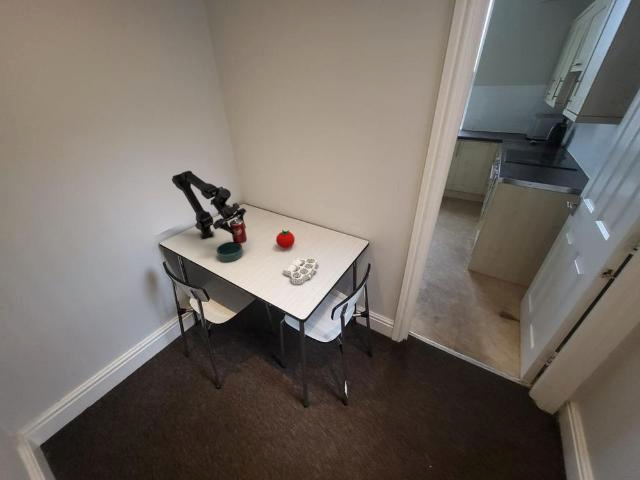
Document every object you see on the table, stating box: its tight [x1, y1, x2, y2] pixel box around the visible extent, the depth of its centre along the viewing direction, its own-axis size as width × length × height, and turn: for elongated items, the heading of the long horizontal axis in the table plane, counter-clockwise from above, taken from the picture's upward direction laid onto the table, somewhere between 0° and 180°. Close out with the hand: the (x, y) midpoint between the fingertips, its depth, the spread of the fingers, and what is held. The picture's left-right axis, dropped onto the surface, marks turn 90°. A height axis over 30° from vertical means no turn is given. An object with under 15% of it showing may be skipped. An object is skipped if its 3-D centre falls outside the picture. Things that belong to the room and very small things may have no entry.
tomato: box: [275, 229, 296, 249], centre depth 143 cm, size 10×10×10 cm
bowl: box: [215, 241, 244, 263], centre depth 138 cm, size 13×13×4 cm
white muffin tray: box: [282, 257, 318, 285], centre depth 126 cm, size 3×18×15 cm
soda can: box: [229, 218, 248, 245], centre depth 136 cm, size 7×7×12 cm
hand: (239, 231), depth 135 cm, fingers closed on soda can, 7 cm apart
